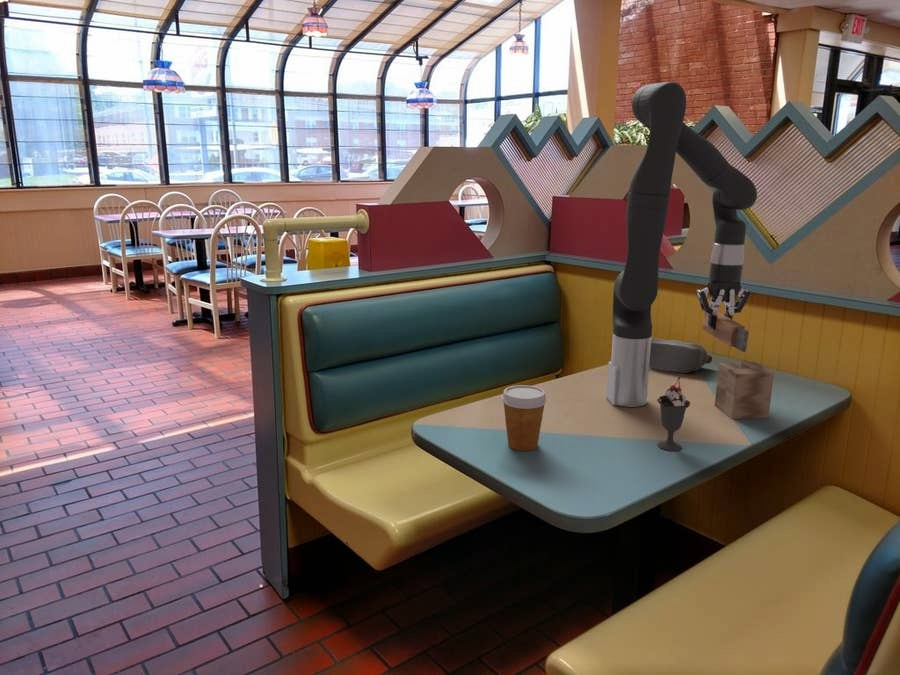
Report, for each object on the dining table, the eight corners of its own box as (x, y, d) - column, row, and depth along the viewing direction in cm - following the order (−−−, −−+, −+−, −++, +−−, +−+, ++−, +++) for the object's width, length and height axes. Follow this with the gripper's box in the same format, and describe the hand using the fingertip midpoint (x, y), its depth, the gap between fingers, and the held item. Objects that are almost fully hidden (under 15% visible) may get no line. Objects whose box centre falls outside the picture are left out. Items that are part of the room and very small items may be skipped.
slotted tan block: (731, 418, 166) (736, 374, 163) (714, 405, 175) (719, 362, 172) (768, 417, 167) (773, 373, 164) (749, 404, 176) (754, 361, 173)
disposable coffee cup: (516, 432, 158) (518, 381, 155) (553, 443, 152) (555, 390, 149) (491, 446, 151) (492, 392, 147) (529, 458, 145) (531, 402, 142)
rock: (712, 367, 206) (715, 341, 204) (703, 377, 197) (706, 350, 195) (650, 358, 215) (651, 332, 213) (638, 367, 206) (640, 341, 204)
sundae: (682, 440, 154) (688, 374, 150) (689, 453, 147) (695, 384, 143) (650, 439, 154) (656, 373, 150) (656, 452, 148) (662, 383, 144)
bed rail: (737, 351, 168) (740, 331, 167) (702, 328, 188) (704, 310, 186) (749, 351, 169) (752, 331, 167) (713, 328, 188) (715, 310, 186)
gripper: (706, 263, 173) (698, 332, 177) (761, 263, 174) (752, 332, 178) (693, 259, 180) (686, 325, 184) (746, 259, 181) (738, 325, 185)
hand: (719, 328), depth 181 cm, fingers closed on bed rail, 3 cm apart
